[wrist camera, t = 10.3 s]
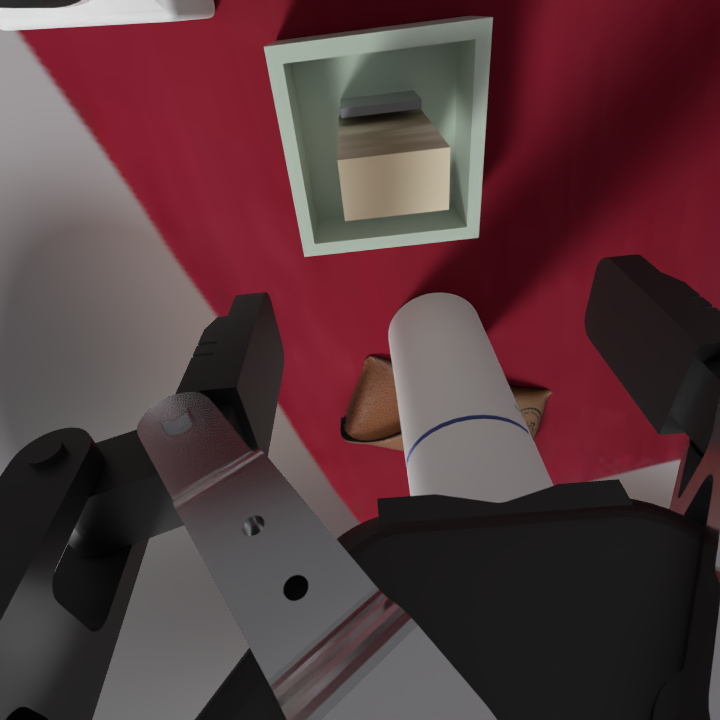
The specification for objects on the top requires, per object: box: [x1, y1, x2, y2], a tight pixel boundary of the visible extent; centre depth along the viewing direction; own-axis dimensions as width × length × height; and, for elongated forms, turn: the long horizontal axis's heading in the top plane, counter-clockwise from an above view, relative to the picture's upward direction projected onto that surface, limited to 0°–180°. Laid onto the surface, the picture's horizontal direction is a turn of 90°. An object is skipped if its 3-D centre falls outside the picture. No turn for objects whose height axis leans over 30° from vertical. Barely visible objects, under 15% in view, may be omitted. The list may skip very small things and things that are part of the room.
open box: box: [264, 16, 493, 257], centre depth 24 cm, size 10×10×4 cm
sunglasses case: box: [340, 355, 553, 451], centre depth 39 cm, size 18×7×7 cm, turn 76°
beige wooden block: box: [337, 109, 450, 221], centre depth 22 cm, size 4×2×9 cm, turn 96°
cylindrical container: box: [388, 292, 553, 503], centre depth 25 cm, size 7×7×25 cm
